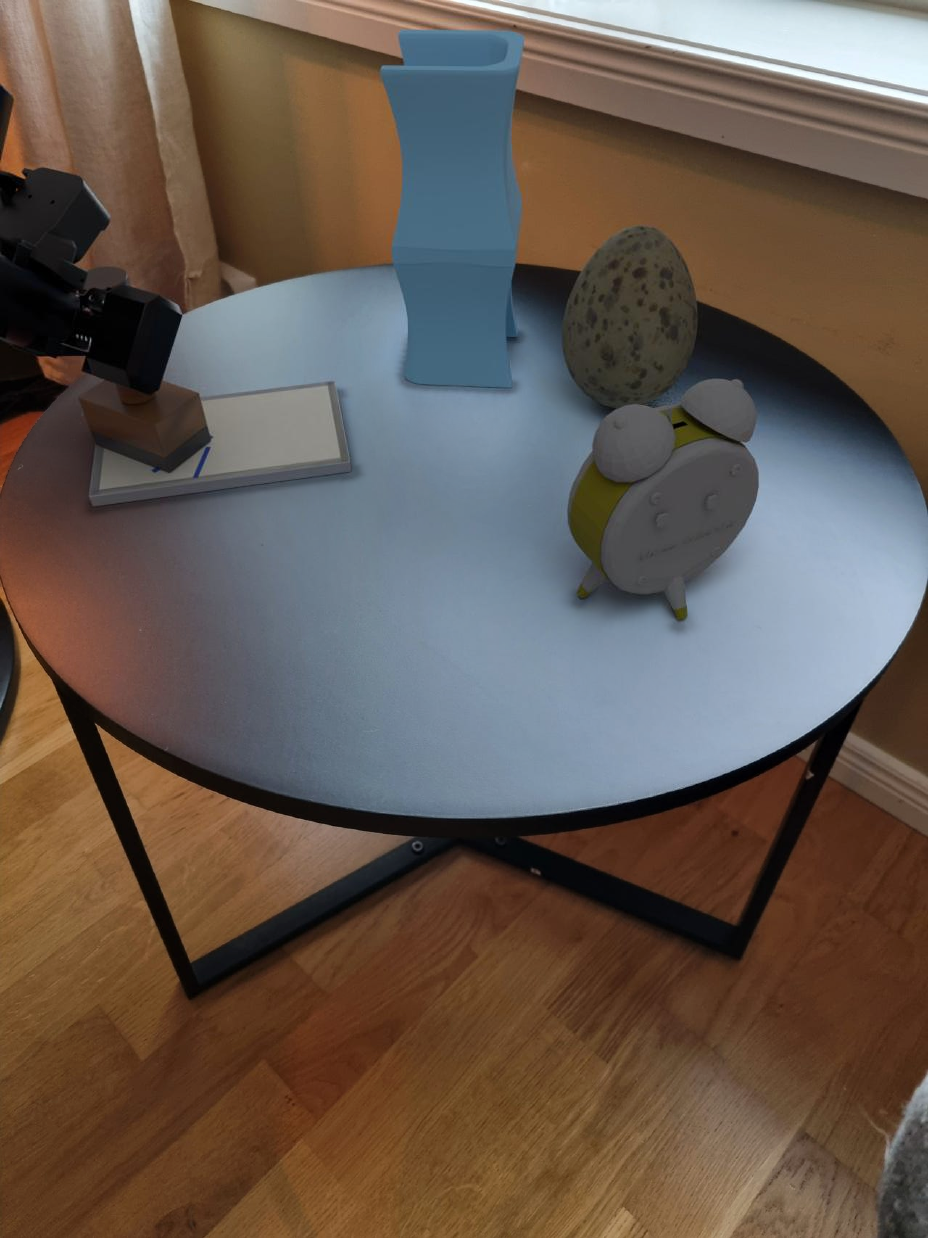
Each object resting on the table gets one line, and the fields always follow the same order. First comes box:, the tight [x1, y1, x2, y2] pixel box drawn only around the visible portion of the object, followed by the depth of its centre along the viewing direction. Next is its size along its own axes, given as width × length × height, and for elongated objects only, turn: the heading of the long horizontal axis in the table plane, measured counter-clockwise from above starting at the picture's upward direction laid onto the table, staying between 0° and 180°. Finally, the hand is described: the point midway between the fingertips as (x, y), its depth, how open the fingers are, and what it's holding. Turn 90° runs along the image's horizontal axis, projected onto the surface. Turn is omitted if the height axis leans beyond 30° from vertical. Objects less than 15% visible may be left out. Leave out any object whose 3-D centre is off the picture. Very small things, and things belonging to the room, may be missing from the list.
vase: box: [379, 29, 525, 389], centre depth 76 cm, size 10×10×25 cm
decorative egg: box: [561, 224, 698, 410], centre depth 74 cm, size 11×11×15 cm
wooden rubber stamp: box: [77, 266, 211, 473], centre depth 70 cm, size 5×8×14 cm, turn 60°
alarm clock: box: [566, 378, 760, 620], centre depth 58 cm, size 12×7×15 cm, turn 117°
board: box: [88, 380, 352, 507], centre depth 76 cm, size 20×12×1 cm, turn 101°
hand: (140, 352), depth 70 cm, fingers closed on wooden rubber stamp, 3 cm apart
